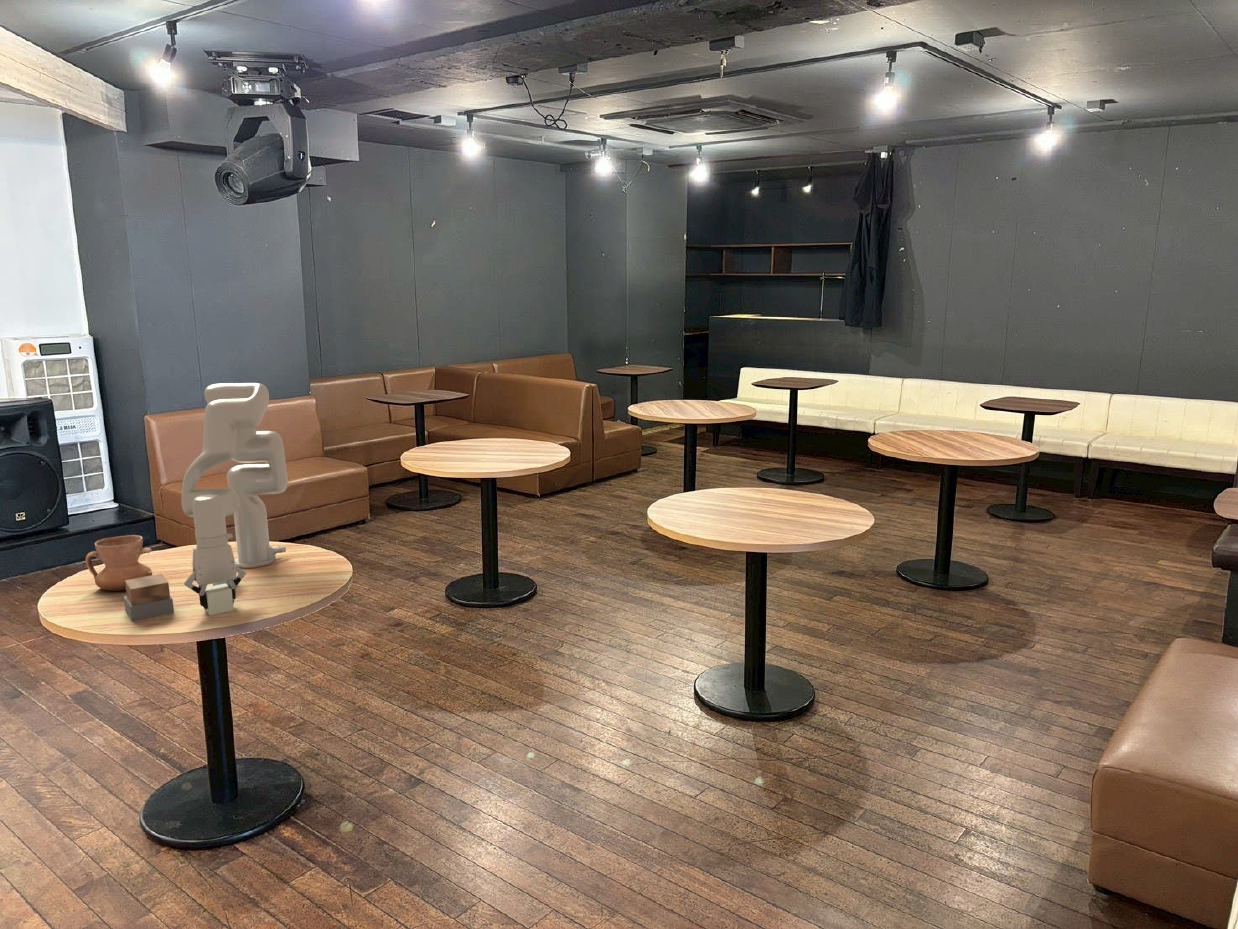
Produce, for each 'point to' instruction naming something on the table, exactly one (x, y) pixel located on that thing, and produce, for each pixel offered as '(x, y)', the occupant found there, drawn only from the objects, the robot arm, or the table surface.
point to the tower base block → (148, 609)
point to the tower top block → (147, 589)
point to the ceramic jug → (118, 561)
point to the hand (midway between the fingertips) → (218, 604)
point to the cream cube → (219, 599)
